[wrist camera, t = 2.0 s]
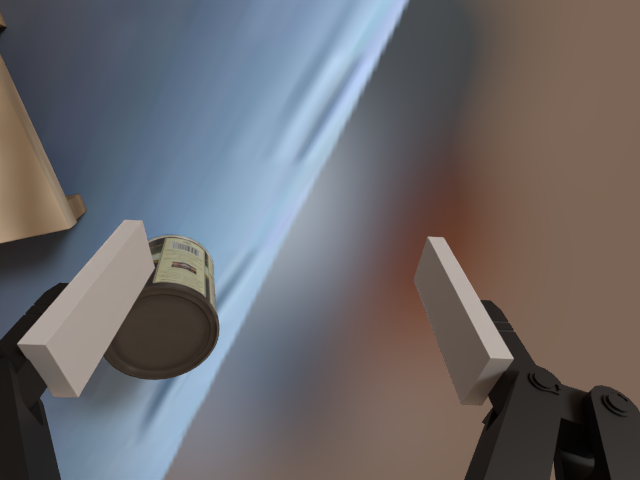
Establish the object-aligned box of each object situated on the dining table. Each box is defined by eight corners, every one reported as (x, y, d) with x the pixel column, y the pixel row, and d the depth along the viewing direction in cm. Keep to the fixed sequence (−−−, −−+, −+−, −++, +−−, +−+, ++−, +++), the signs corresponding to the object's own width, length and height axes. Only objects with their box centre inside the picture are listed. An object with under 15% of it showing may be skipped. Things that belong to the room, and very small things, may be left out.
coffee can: (135, 310, 43) (107, 390, 31) (123, 236, 40) (86, 293, 27) (216, 301, 47) (222, 370, 34) (212, 232, 43) (216, 280, 31)
